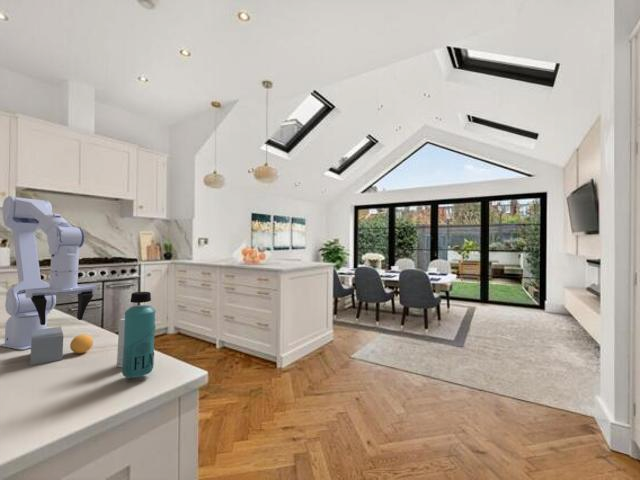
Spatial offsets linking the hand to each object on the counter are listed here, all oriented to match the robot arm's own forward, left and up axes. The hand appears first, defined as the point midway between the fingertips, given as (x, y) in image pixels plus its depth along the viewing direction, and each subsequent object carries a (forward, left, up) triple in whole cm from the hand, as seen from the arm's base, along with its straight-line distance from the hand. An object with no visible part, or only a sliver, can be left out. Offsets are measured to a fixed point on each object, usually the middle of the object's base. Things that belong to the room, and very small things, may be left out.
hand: (61, 321), depth 81 cm
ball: (+2, +4, -7) cm, 8 cm away
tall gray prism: (-3, -1, -9) cm, 10 cm away
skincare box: (+21, +3, -10) cm, 24 cm away
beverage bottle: (+29, -3, -10) cm, 31 cm away
